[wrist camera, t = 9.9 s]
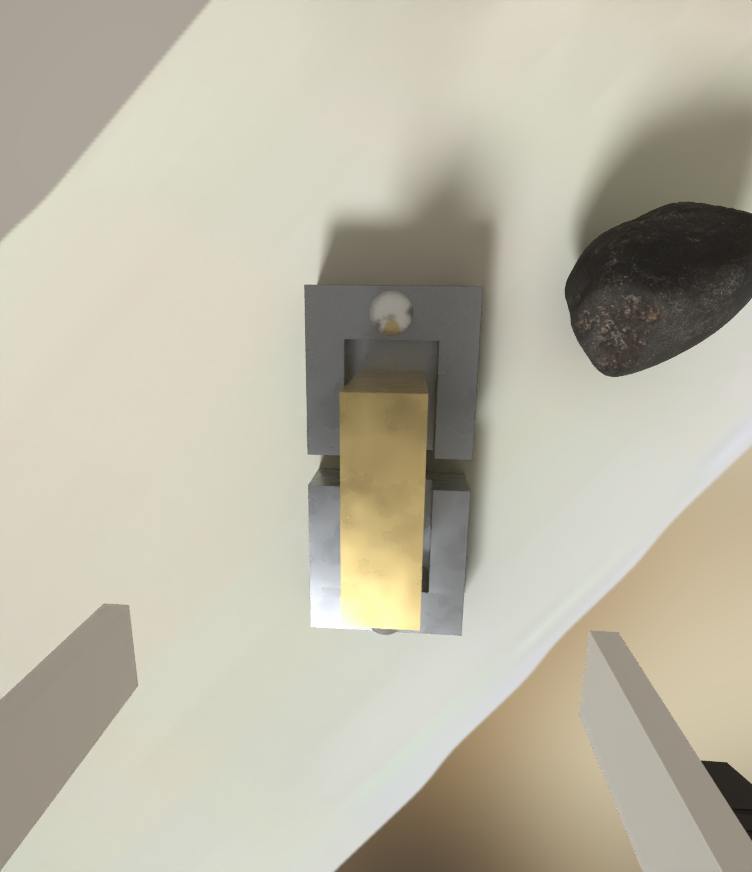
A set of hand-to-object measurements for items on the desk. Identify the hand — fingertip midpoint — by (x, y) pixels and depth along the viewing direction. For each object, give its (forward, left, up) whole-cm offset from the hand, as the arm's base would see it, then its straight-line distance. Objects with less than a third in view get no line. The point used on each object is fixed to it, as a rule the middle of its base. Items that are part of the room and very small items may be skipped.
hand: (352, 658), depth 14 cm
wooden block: (0, 0, -19) cm, 19 cm away
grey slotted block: (0, 0, -21) cm, 21 cm away
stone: (+14, +11, -21) cm, 28 cm away
